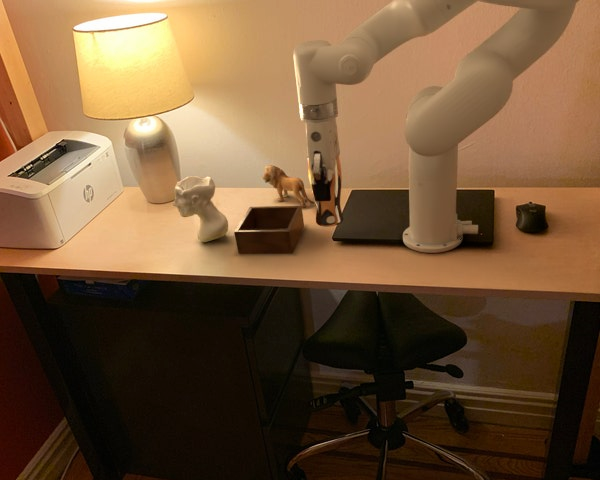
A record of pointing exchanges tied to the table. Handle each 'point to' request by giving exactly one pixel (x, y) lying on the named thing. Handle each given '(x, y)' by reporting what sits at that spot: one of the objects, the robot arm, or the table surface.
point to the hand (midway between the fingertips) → (326, 192)
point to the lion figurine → (285, 184)
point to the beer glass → (331, 210)
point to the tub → (269, 239)
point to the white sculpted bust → (201, 206)
